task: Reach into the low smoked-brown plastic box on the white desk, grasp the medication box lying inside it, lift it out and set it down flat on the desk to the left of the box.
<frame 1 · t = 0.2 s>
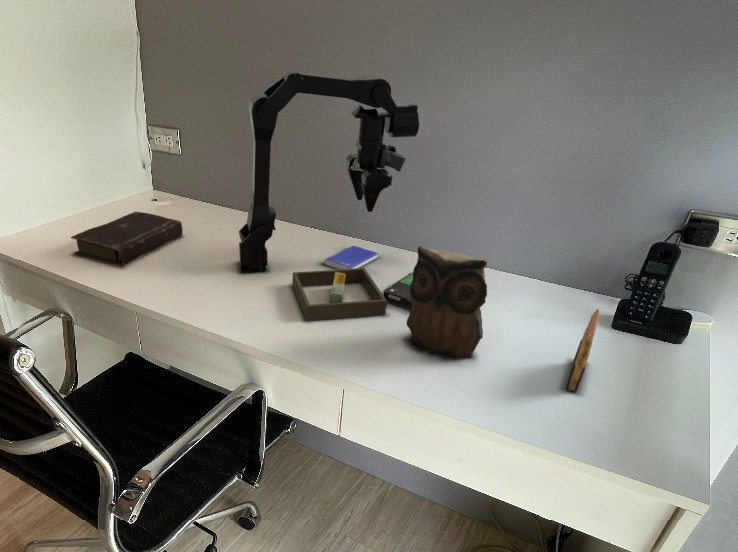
hand: (364, 205, 140), 15 cm above the table, tool pointing down, fingers open, 9 cm apart
storage box: (336, 299, 131), on the table
hard drive: (351, 262, 149), on the table
diary: (129, 246, 158), on the table
medication box: (336, 300, 131), resting in storage box
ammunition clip: (574, 377, 105), on the table
owl: (444, 343, 115), on the table
disk drive: (417, 296, 132), on the table
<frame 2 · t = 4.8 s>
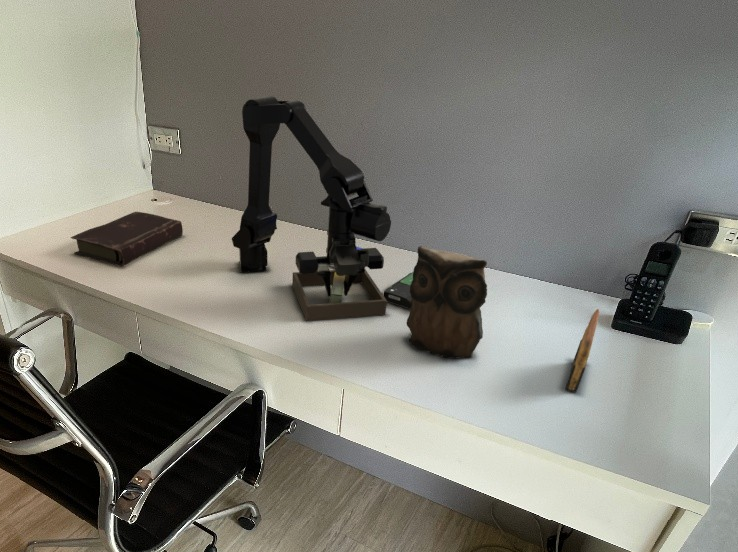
hand: (336, 295, 130), 1 cm above the table, tool pointing down, fingers closed on medication box, 3 cm apart
medication box: (336, 300, 131), resting in storage box, touching gripper
everything else where it was.
when the fingers open (1 cm above the table, at t = 9.8 s): medication box stays where it is, on the table.
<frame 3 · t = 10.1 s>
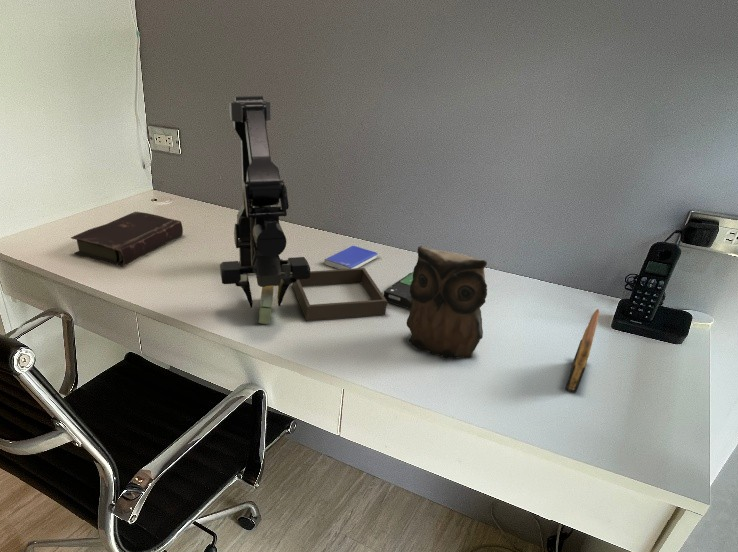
hand: (265, 306, 125), 1 cm above the table, tool pointing down, fingers open, 6 cm apart
medication box: (266, 312, 126), on the table
everything else where it was.
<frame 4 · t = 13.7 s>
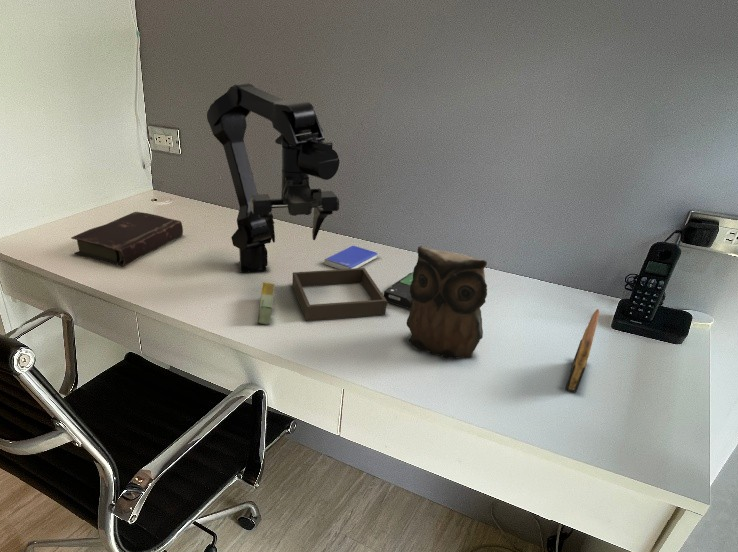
hand: (293, 240, 128), 12 cm above the table, tool pointing down, fingers open, 9 cm apart
nothing on the table moved.
at the end: medication box inside the target area (0.3 cm from its centre), on the table; the gripper is holding nothing; medication box tilted 0° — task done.
